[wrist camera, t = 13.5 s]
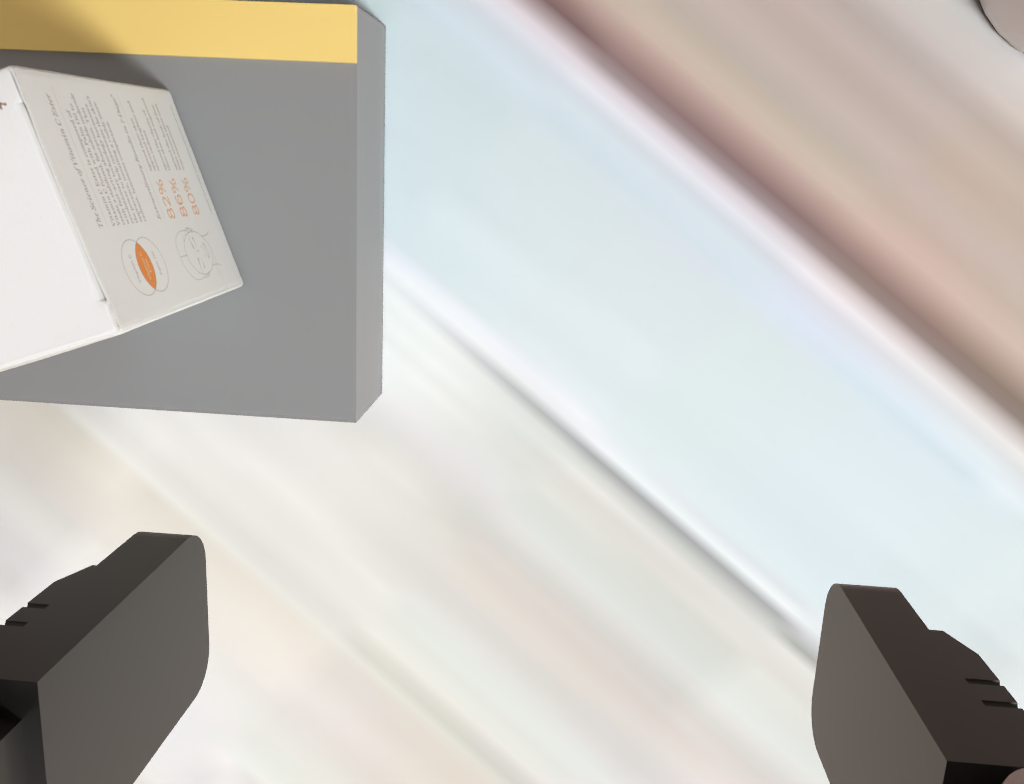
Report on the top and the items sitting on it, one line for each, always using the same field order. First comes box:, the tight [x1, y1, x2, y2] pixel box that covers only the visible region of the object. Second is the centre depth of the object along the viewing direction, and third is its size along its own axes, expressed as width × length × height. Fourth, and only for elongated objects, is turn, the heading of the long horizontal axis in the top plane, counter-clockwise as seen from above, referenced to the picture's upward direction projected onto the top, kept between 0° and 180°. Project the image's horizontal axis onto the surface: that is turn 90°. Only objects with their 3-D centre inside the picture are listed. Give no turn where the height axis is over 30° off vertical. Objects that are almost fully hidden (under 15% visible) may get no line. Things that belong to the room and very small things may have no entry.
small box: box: [0, 65, 243, 372], centre depth 31 cm, size 8×6×10 cm
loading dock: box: [0, 0, 386, 423], centre depth 39 cm, size 17×16×5 cm
